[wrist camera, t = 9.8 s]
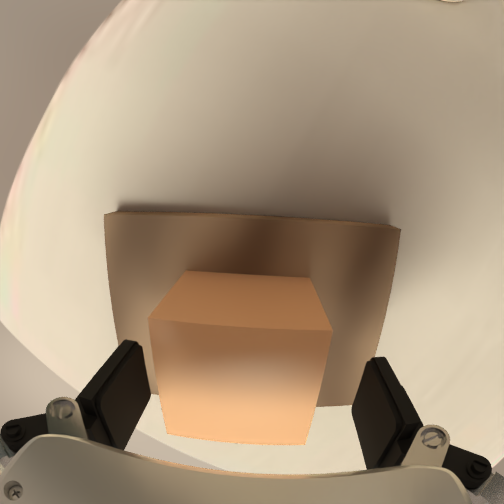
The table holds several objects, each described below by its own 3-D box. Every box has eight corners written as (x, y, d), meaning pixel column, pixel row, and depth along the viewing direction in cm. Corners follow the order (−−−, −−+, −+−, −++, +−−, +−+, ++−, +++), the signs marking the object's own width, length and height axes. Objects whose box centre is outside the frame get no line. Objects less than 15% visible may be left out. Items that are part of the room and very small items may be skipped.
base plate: (389, 225, 15) (434, 243, 10) (354, 391, 18) (371, 440, 13) (116, 211, 16) (66, 225, 11) (135, 376, 19) (109, 421, 14)
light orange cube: (309, 277, 15) (332, 330, 9) (295, 376, 16) (304, 444, 11) (185, 270, 15) (147, 317, 9) (190, 369, 16) (167, 433, 11)
